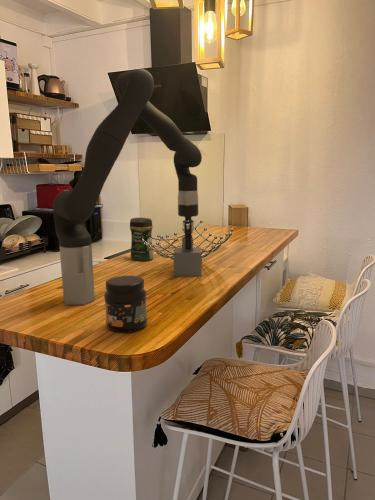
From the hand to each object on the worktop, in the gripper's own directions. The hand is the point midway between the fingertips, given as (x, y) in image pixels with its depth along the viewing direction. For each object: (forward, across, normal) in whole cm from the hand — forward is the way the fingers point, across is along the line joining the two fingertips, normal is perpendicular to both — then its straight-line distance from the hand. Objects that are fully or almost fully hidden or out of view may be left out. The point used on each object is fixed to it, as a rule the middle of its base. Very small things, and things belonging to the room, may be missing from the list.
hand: (188, 247), depth 149 cm
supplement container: (+10, +52, -15) cm, 55 cm away
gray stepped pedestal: (+10, 0, 0) cm, 10 cm away
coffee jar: (+10, -23, -21) cm, 33 cm away
